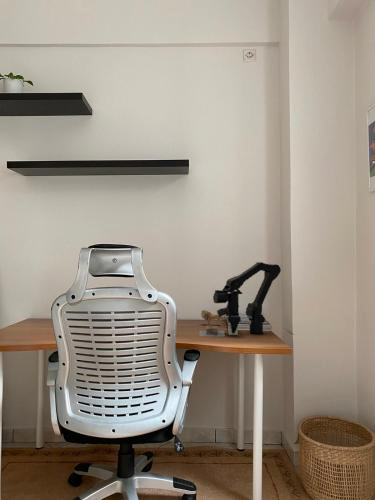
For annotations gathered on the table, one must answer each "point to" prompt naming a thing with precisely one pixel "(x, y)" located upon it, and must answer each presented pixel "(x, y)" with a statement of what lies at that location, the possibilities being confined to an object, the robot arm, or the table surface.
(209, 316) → the lion figurine
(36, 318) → the table surface
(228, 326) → the sage cube
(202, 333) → the slate pad
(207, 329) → the walnut block
